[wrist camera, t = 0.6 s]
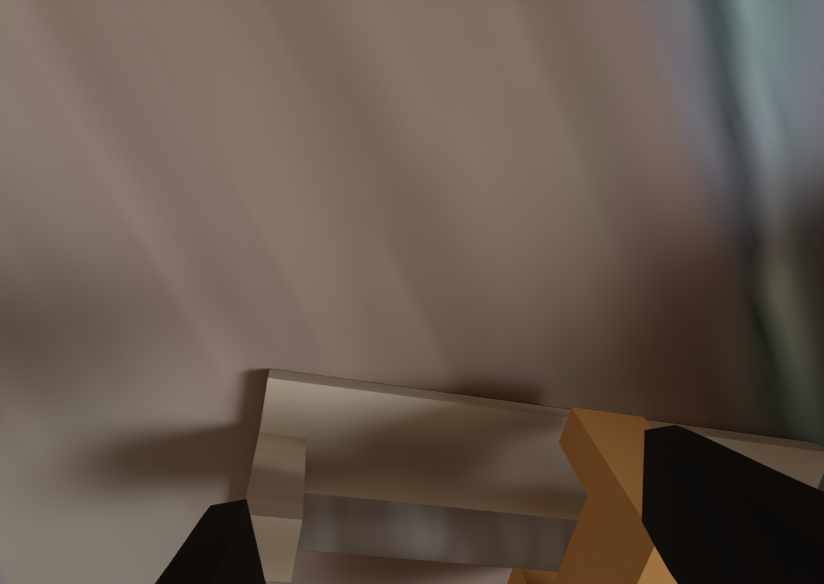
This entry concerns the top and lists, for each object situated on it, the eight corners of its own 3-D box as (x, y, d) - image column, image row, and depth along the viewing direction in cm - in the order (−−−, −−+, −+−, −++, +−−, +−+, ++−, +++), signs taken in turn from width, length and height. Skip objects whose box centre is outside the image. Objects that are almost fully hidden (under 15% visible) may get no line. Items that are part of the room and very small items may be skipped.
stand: (767, 568, 26) (875, 675, 21) (245, 521, 22) (222, 639, 17) (816, 443, 25) (943, 524, 20) (269, 368, 21) (252, 446, 16)
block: (571, 590, 23) (641, 756, 18) (506, 586, 23) (558, 754, 17) (643, 416, 20) (752, 550, 15) (571, 406, 20) (656, 541, 15)
